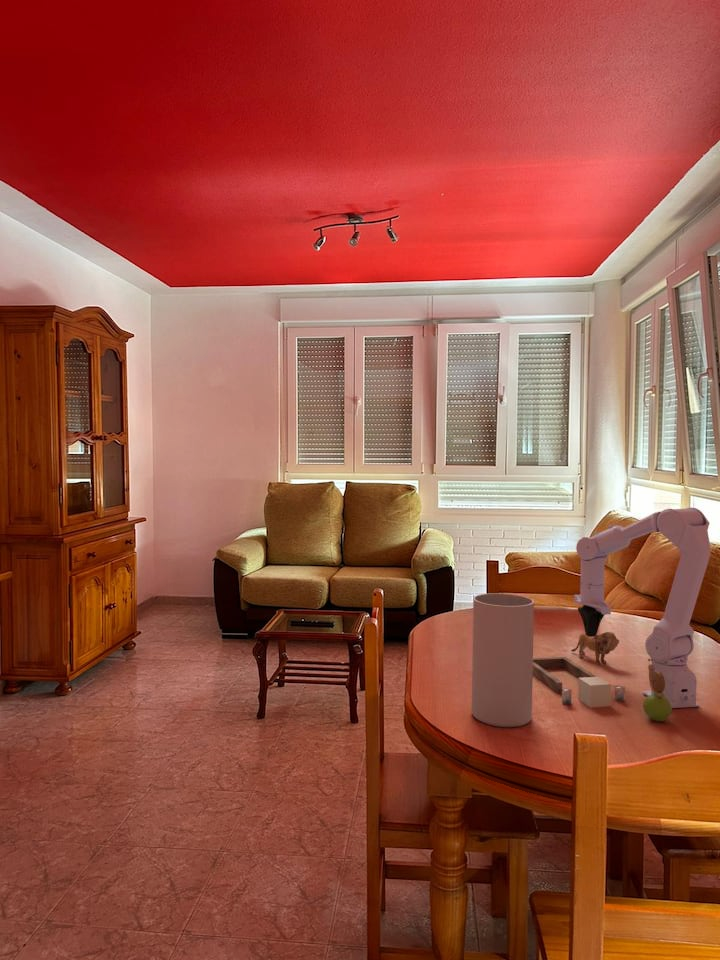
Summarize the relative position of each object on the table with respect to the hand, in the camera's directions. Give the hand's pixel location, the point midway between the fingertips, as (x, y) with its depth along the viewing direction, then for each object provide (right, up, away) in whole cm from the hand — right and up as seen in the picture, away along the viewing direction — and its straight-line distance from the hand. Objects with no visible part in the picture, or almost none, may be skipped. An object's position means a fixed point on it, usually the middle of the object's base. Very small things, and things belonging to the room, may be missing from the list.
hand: (591, 635), depth 164 cm
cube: (-7, -10, -20) cm, 24 cm away
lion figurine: (+5, -9, +10) cm, 15 cm away
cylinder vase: (-30, -10, -29) cm, 43 cm away
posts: (-7, -10, -20) cm, 23 cm away
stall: (-9, -10, -6) cm, 14 cm away
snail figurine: (+3, -11, -30) cm, 32 cm away
